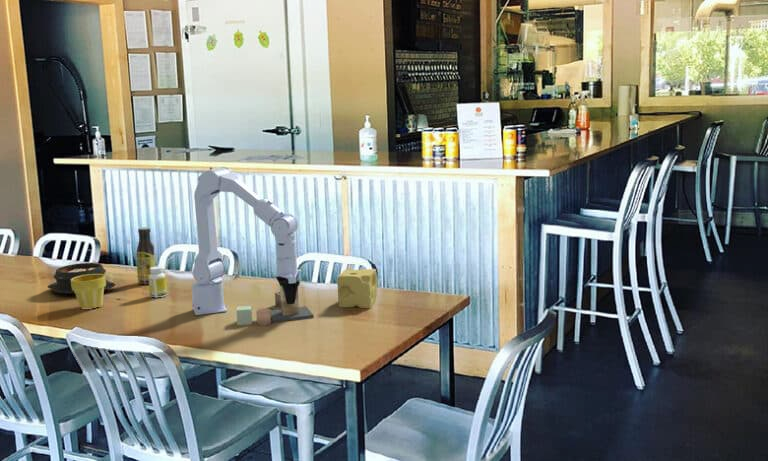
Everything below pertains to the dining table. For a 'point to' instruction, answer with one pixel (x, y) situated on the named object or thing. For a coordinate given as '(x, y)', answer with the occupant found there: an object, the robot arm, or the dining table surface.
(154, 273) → the supplement bottle
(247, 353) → the dining table surface
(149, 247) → the sauce bottle
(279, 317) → the bar mat
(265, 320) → the brown block
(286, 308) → the oak block
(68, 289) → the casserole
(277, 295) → the walnut block
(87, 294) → the plant pot
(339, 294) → the cheese
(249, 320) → the sage block
